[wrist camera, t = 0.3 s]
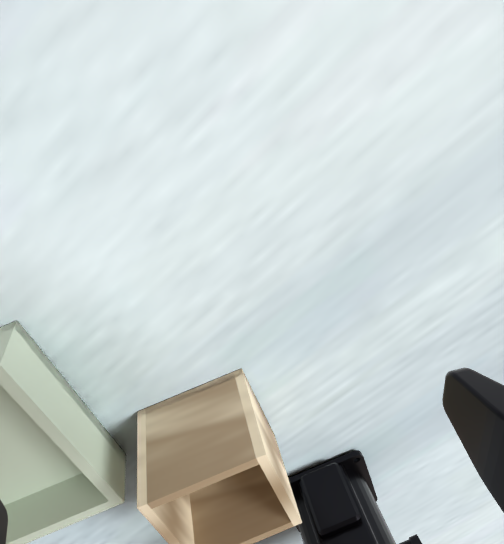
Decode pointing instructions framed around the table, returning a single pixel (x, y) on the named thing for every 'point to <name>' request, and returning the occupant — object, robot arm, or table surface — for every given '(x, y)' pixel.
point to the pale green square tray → (49, 446)
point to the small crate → (212, 467)
